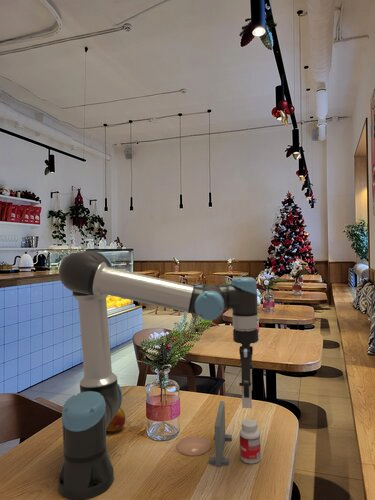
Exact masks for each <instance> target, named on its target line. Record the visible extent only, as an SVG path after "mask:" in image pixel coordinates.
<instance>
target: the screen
mask: <svg viewBox="0 0 375 500" xmlns="http://www.w3.org/2000/svg"><path fill="white" fill-rule="evenodd" d="M225 405H226V404H225V401H223V400H220V401H219V403H218V409H217V413H216V417H215V421H214V422H215V423H214V434H213V441H214V452H215V455H214V456H208V464H209V465H215V467H219V468H220V467H222V466H229V465H230V458H228V457H223V455H224V448H225V442H226V441H228V442H233V441H232V439H233V435H232V434H226V411H225V410H226V409H225V408H226V407H225Z"/></svg>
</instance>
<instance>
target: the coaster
mask: <svg viewBox="0 0 375 500" xmlns="http://www.w3.org/2000/svg"><path fill="white" fill-rule="evenodd" d="M211 445H212V444H211V442H210V441H209V439H207V438H205V437H203V436H198V435H197V436H194V435H191V436H186V437H183V438H181V439H180V440H179V441H178V442H177V443H176V450H177V451H178V452H179V454H182V455H184V456H188V457H197V456H203V455H205V454H207V453H208V452H209V451H210V450H211Z"/></svg>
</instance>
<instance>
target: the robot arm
mask: <svg viewBox="0 0 375 500" xmlns="http://www.w3.org/2000/svg"><path fill="white" fill-rule="evenodd" d="M58 277H59V280H60V282H61V283H62V285H63V286H64V287H65V288H66V289H68V290H69V291H71V292H72V297H73V298H74V299H75V300H77V301H78V313H79V314H78V315H79V326H80V339H81V350H82V352H81V353H82V364H83V375H84V376H83V377H82V378H81V380H80V382H79V389H80V390H79V393H77V394H76V395H75V394H74V395H72V396H69V398H68V399H67V400H66V401H64V404H63V406H62V410H61V412H62V414H61V424H62V441H63V442H62V443H63V446H62V447H63V461H62V464H61V466H60V467H61V468H60V470H59V474H58V478H57V487H58V488H57V490H58V492H59V494H60V495H61V496H62V497H64V498H66V499H69V500H86V499H91V498H94V497H96V496H99V495H101V494H103V493H104V492H105V491H107V490H108V489H109V488H110V487H111V486H112V484H113V482H114V480H115V476H114V474H115V473H114V467H113V464H112V461H111V459H110V456H109V453H108V450H107V431H106V428H107V427H108V425H109V424H110V422H111V421H112V419H113V418H114V416H115V415H116V413H117V412H118V411H119V409H120V408H121V406H122V402H123V397H124V396H123V389H122V387H121V386H120V384H118V383H119V382H118V376H117V375H116V374H115V373H114V372H113V369H112V355H111V345H110V341H111V340H110V331H109V330H110V329H109V318H108V317H109V316H108V304H107V297H108V296H112V297H115V298H121V299H125V300H130V301H134V302H138V303H143V304H147V305H152V306H157V307H161V308H166V309H168V310H169V309H171V310H174V311H179V312H183V313H188V314H192V315H196V316H199V317H200V318H201V319H203V320H205V321H213V320H214V321H215V320H217V319H218V318H219V317H220V316H221V315H222V313H223V311H224V310H232V328H233V330H232V337H233V339H232V340H233V342H235V343H237V344H241V345H240V346H239V349H238V350H239V360H240V364H241V365H240V366H241V382H239V385H238V386H239V387H241V409H253V401H252V398H253V397H252V396H253V395H252V391H253V374H252V373H253V369H254V364H252V363H253V352H254V349H253V348H254V346H252V345H251V344H255V343H257V342H258V341H259V330H258V327H259V321H260V320H261V318H260V317H258V290H257V289H258V288H257V280H256V279H255V278H254V277H251V276H249V277H248V276H240V277H233V278H232V279H231V283H230V284H199V285H192V284H191V285H190V284H186V283H182V282H178V281H173V280H168V279H164V278H159V277H154V276H150V275H145V274H141V273H136V272H132V271H127V270H123V269H118V268H114V267H113V264H112V261H111V260H110V259H109V258H108V257H107V256H106V255H105V254H103V253H101V252H99V251H92V250H89V251H78V252H73V253H69V255H67V256H65V257H64V259H63V260H62V261H61V262H60V265H59V268H58Z"/></svg>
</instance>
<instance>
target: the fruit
mask: <svg viewBox="0 0 375 500" xmlns="http://www.w3.org/2000/svg"><path fill="white" fill-rule="evenodd" d="M125 423H126V414H125V412H124V409H123V408H121V407H120V409H119V411H118V412H117V413H116V415H115V416H114V418H113V419H112V421H111V422H110V424H109V425H108V427H107V428H106V432H117V431H120V430H121V429H122V428H123V427H124V426H125Z"/></svg>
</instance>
